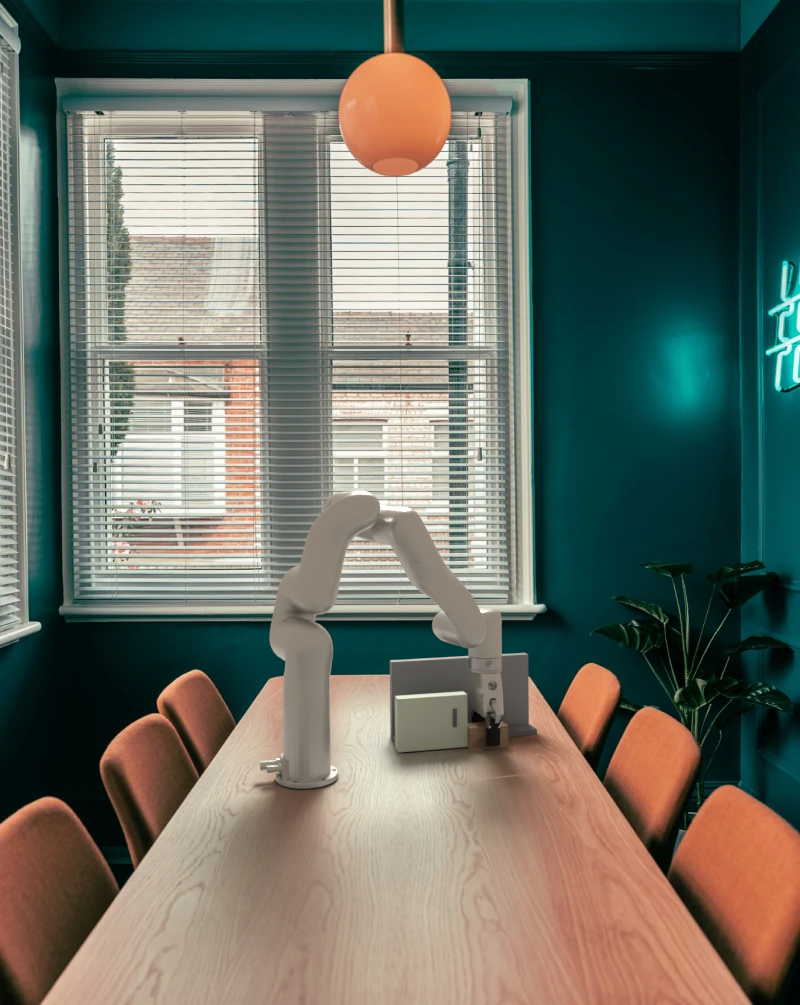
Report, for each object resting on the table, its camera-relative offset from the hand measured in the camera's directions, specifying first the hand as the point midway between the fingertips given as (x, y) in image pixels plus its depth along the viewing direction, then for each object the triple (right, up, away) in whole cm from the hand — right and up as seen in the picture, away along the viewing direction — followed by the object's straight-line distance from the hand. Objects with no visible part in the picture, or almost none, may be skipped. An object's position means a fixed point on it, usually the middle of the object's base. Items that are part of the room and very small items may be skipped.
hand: (485, 739), depth 174 cm
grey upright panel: (-4, -2, +8) cm, 9 cm away
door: (-12, -2, -2) cm, 13 cm away
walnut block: (0, -2, 0) cm, 2 cm away
